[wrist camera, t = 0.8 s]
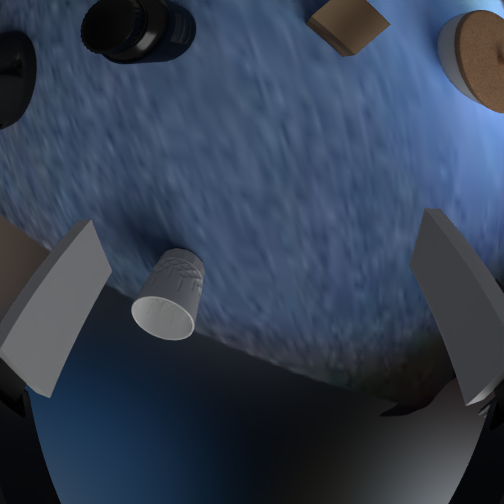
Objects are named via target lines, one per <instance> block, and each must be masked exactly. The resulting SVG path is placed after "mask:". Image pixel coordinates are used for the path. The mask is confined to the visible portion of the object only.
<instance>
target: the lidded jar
mask: <svg viewBox="0 0 504 504" xmlns="http://www.w3.org/2000/svg"><path fill="white" fill-rule="evenodd" d="M437 52H438V58H439V61H440V64H441V66H442V69H443V71H444V73H445V74H446V76H447V78H448V79H449V80H450V82H451V83H452V84H453V85H454V86H455V87H456V88H457V89H458V90H459V91H460V92H461V93H462V94H464V95H465V96H466V97H468V98H469V99H471V100H473V101H475V102H477V103H479V104H481V105H483V106H485V107H487V108H489V109H491V110H493V111H495V112H499V113H504V19H503V18H501V17H500V16H499V15H497V14H495V13H493V12H490V11H486V10H476V11H471V12H468V13H463V14H459V15H457V16H455V17H453V18H451V19H450V20H448V21H447V22H446V23H445V24H444V26H443V27H442V29H441V30H440V33H439V36H438V41H437Z"/></svg>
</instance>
